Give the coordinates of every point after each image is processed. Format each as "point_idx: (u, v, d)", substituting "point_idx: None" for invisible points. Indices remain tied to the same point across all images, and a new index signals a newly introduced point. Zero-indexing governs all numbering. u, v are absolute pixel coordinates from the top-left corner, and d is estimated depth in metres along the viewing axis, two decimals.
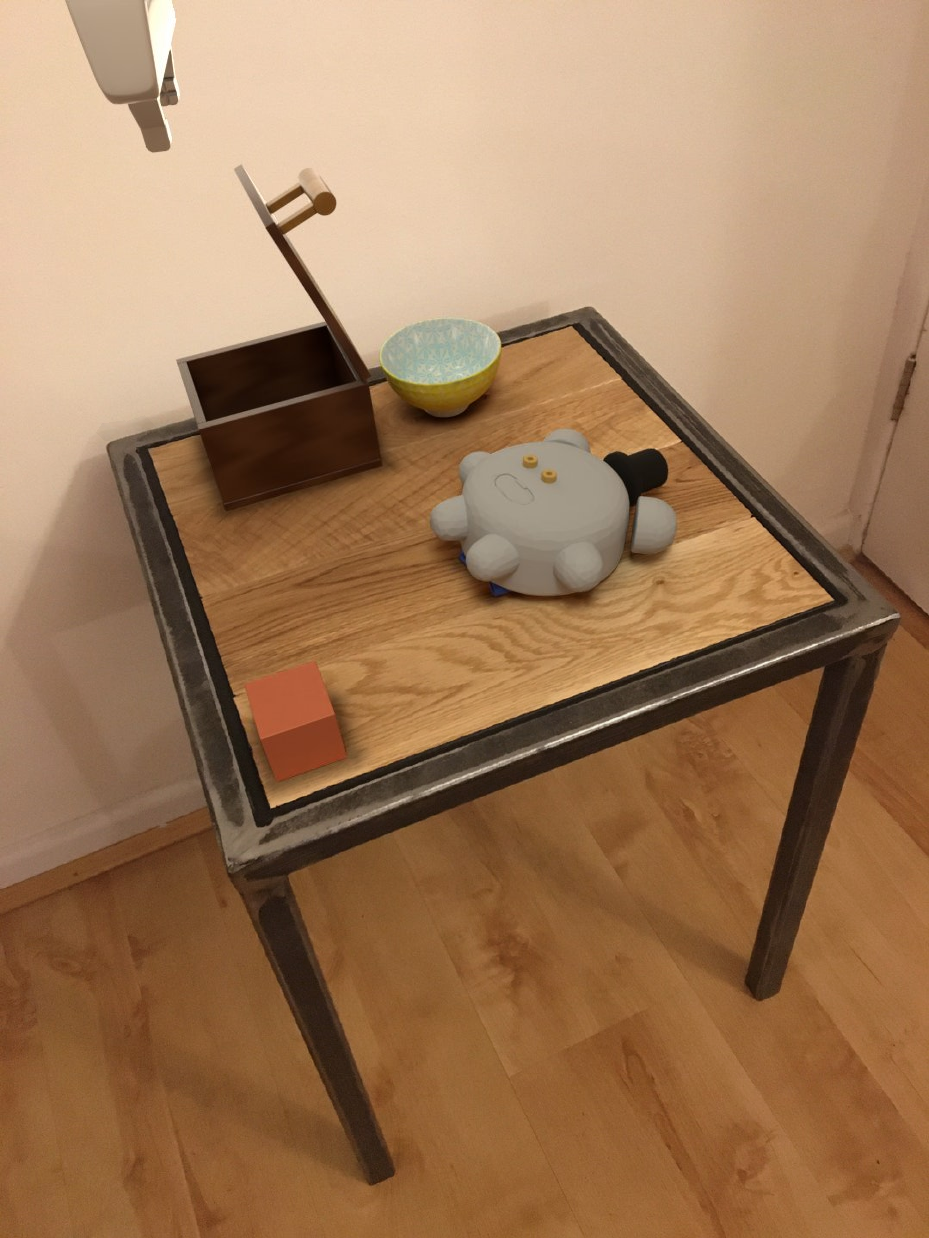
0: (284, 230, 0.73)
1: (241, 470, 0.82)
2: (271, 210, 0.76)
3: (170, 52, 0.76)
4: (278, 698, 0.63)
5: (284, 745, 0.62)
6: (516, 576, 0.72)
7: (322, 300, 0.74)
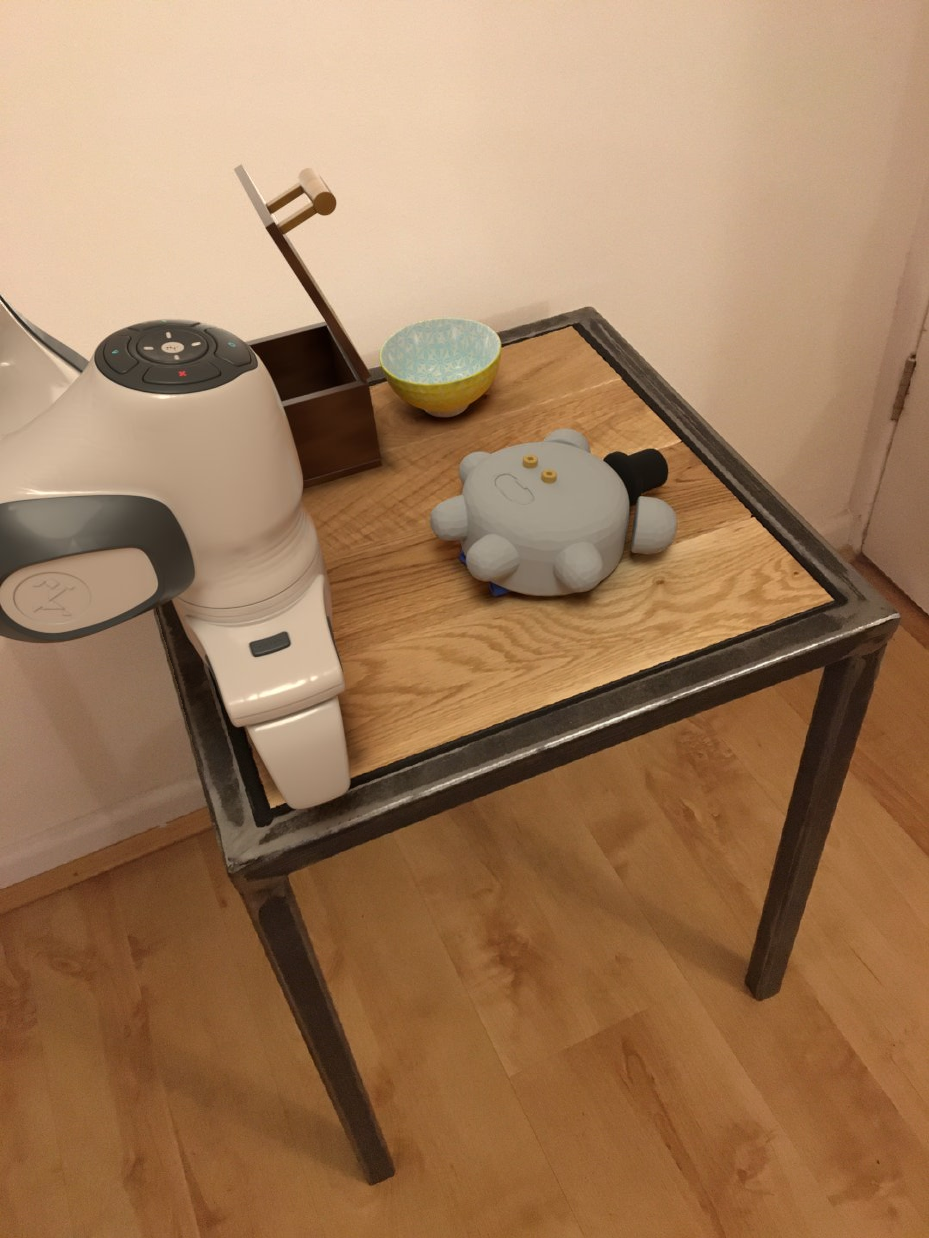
0: (284, 230, 0.73)
1: None
2: (271, 210, 0.76)
3: None
4: None
5: None
6: (516, 576, 0.72)
7: (322, 300, 0.74)
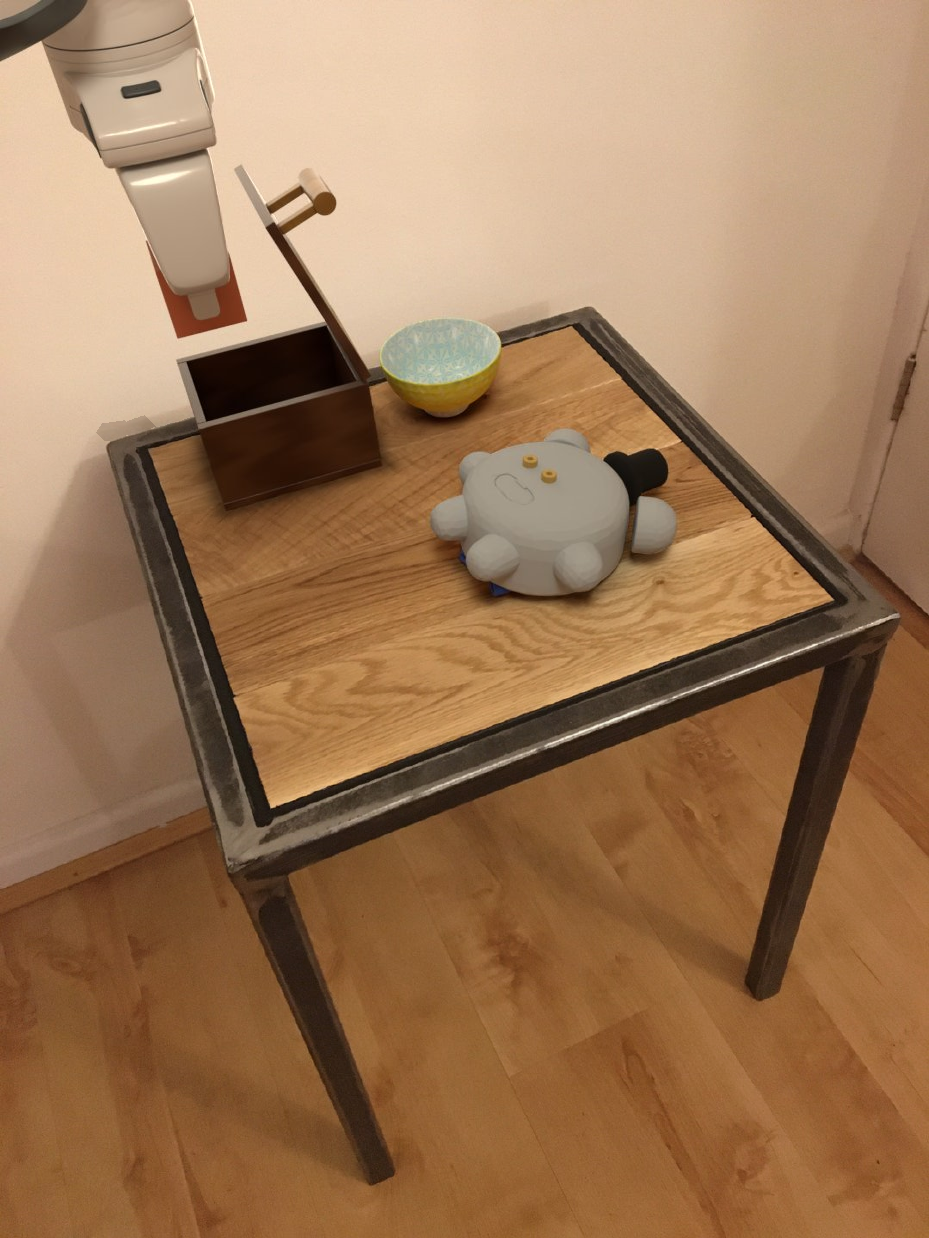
0: (284, 230, 0.73)
1: (241, 470, 0.82)
2: (271, 210, 0.76)
3: None
4: None
5: None
6: (516, 576, 0.72)
7: (322, 300, 0.74)
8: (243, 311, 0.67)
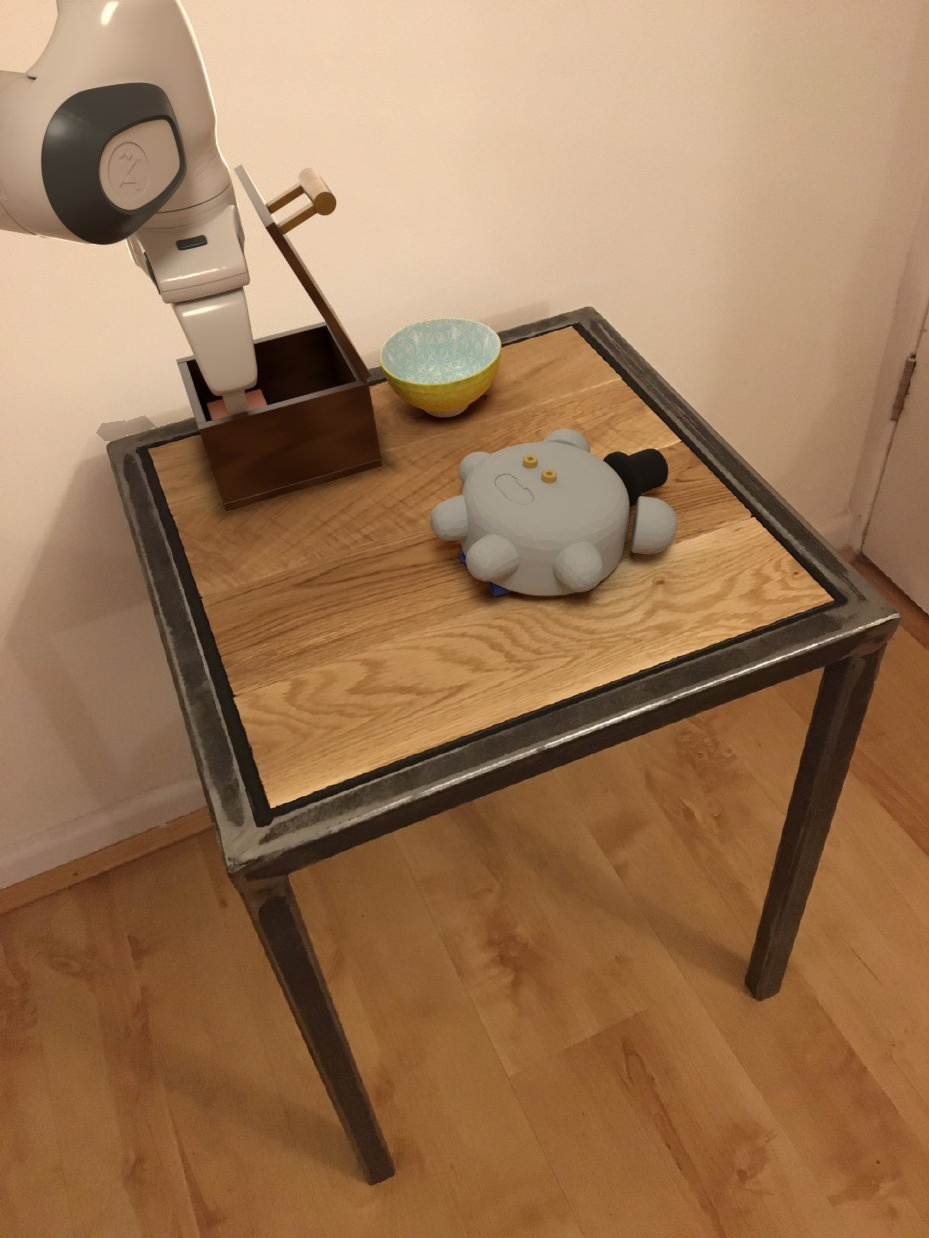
0: (284, 230, 0.73)
1: (241, 470, 0.82)
2: (271, 210, 0.76)
3: None
4: None
5: None
6: (516, 576, 0.72)
7: (322, 300, 0.74)
8: None
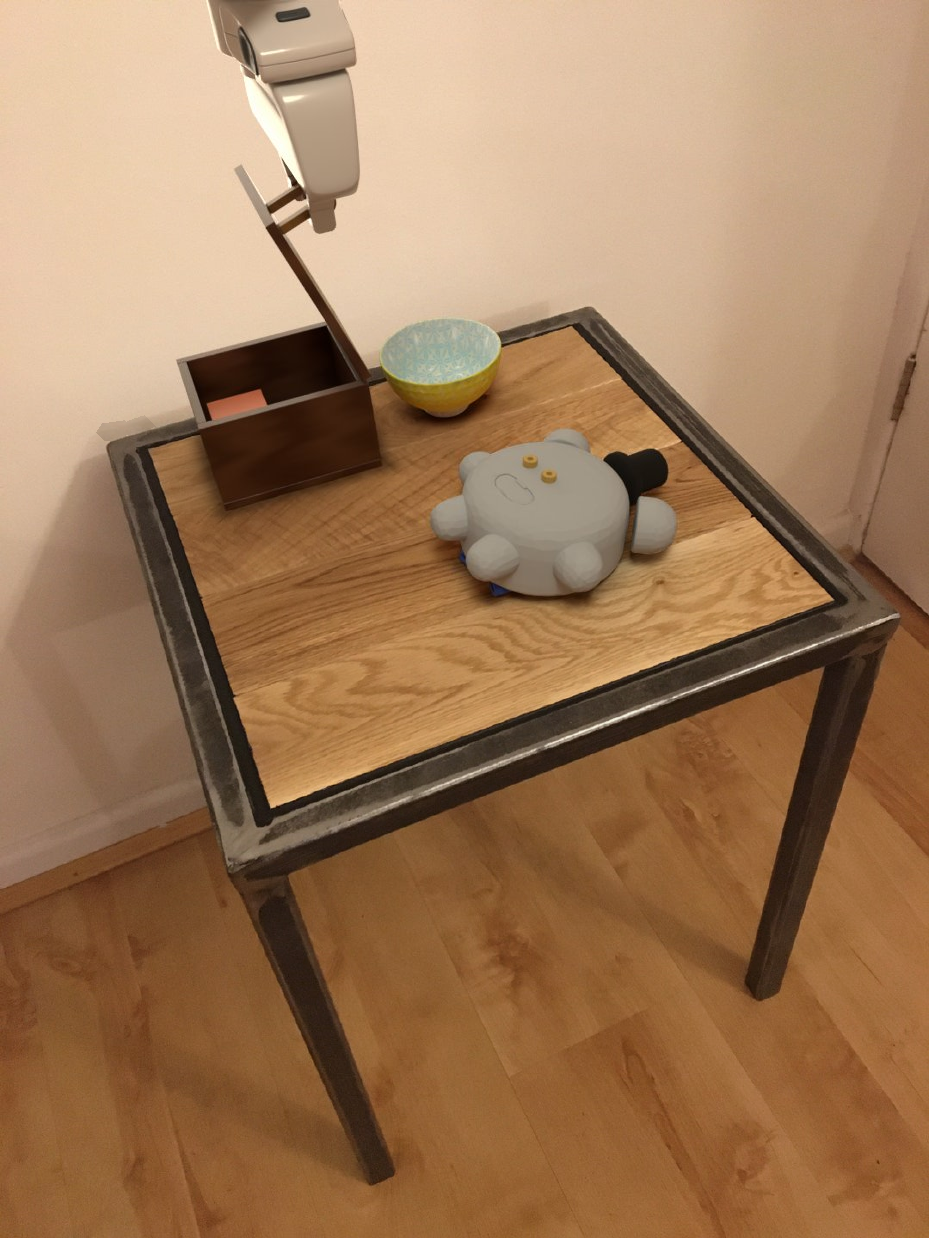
0: (284, 230, 0.73)
1: (241, 470, 0.82)
2: (271, 210, 0.76)
3: None
4: (231, 410, 0.85)
5: None
6: (516, 576, 0.72)
7: (322, 300, 0.74)
8: None
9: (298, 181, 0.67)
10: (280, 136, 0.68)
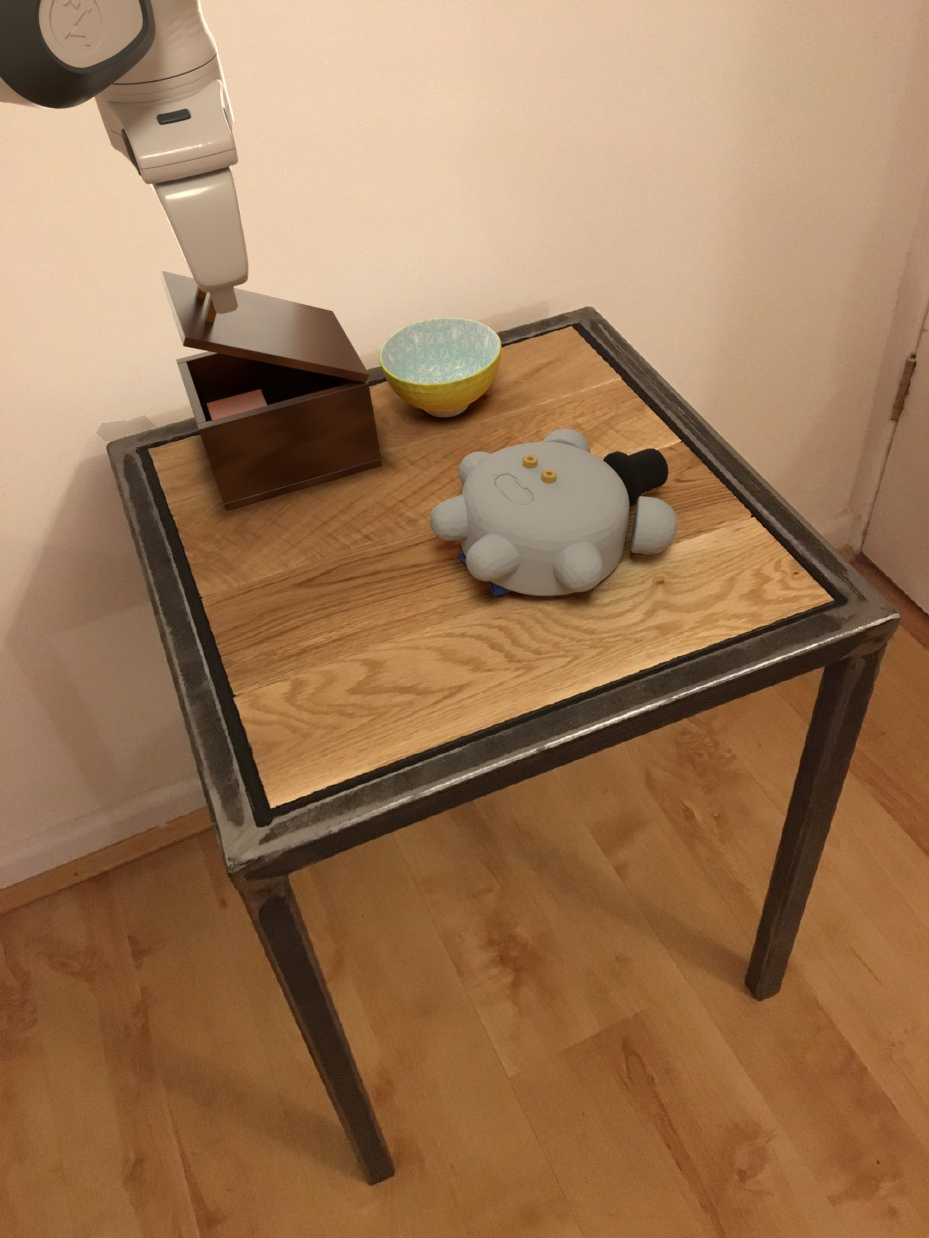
0: (211, 320, 0.76)
1: (241, 470, 0.82)
2: (201, 298, 0.78)
3: None
4: (231, 410, 0.85)
5: None
6: (516, 576, 0.72)
7: (275, 356, 0.76)
8: None
9: None
10: None
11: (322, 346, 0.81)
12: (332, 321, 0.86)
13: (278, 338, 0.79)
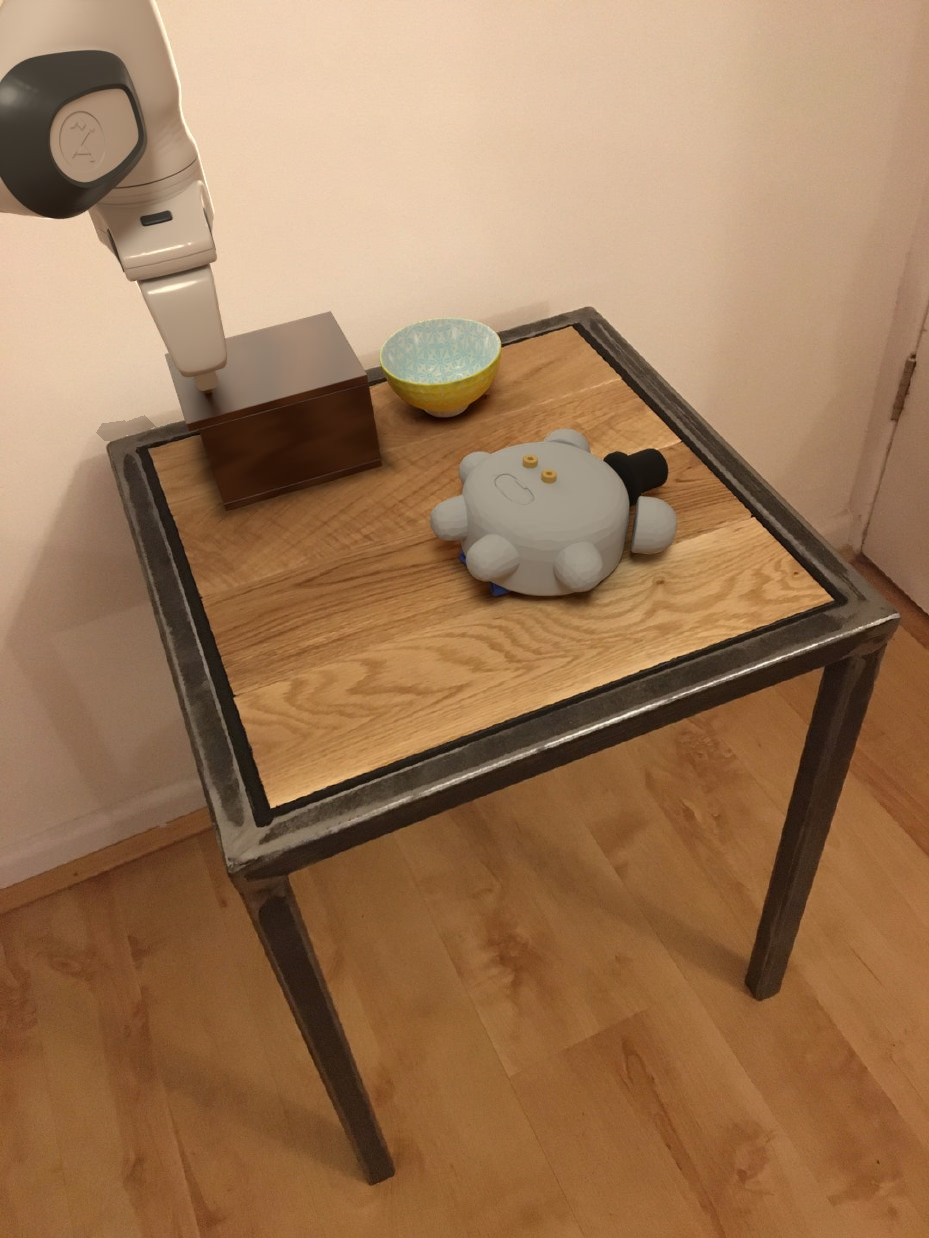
0: (208, 391, 0.80)
1: (241, 470, 0.82)
2: None
3: None
4: None
5: None
6: (516, 576, 0.72)
7: (272, 401, 0.79)
8: None
9: None
10: None
11: (319, 363, 0.82)
12: (330, 325, 0.86)
13: (274, 377, 0.81)
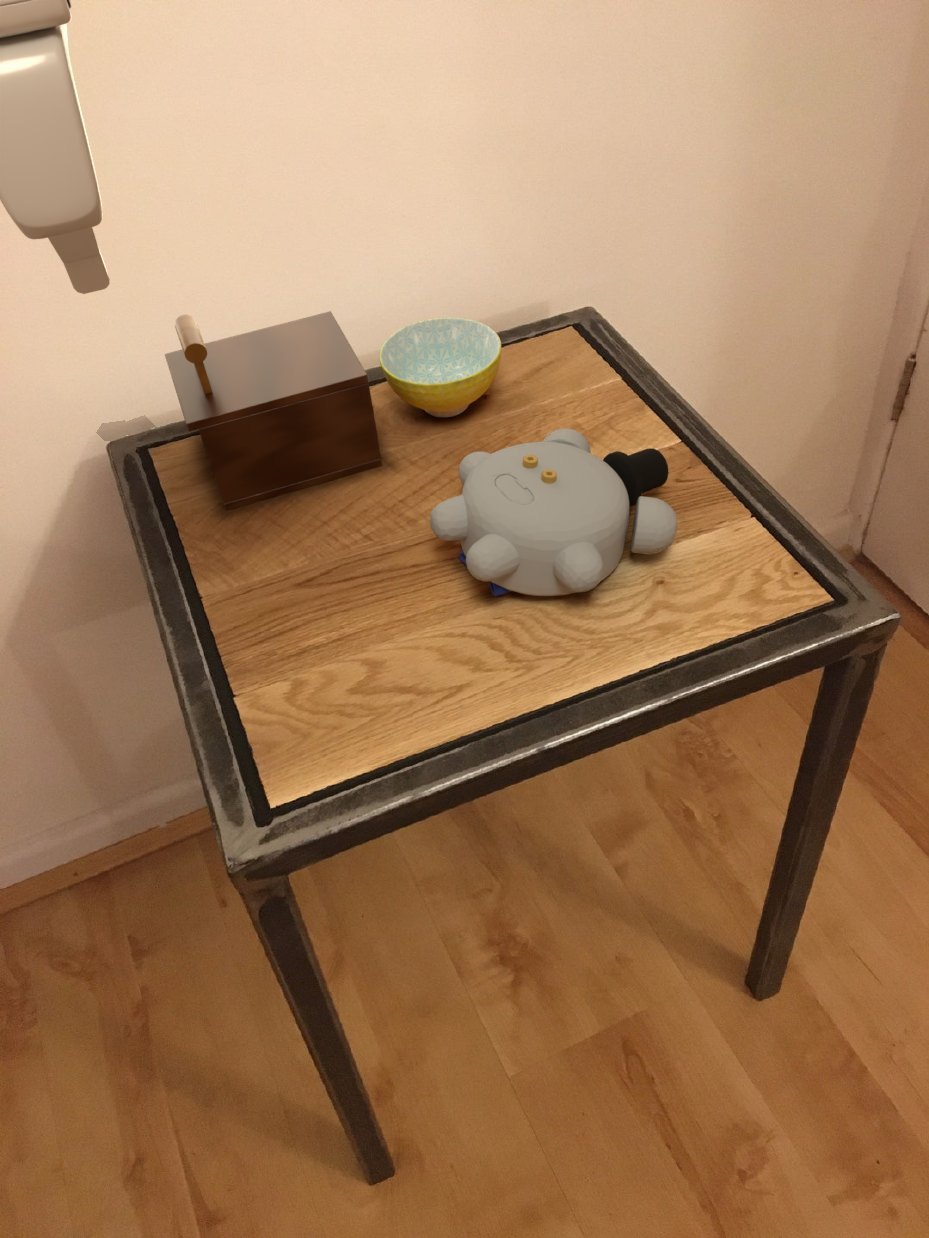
0: (208, 391, 0.80)
1: (241, 470, 0.82)
2: None
3: None
4: None
5: None
6: (516, 576, 0.72)
7: (272, 401, 0.79)
8: None
9: None
10: None
11: (319, 363, 0.82)
12: (330, 325, 0.86)
13: (274, 377, 0.81)
